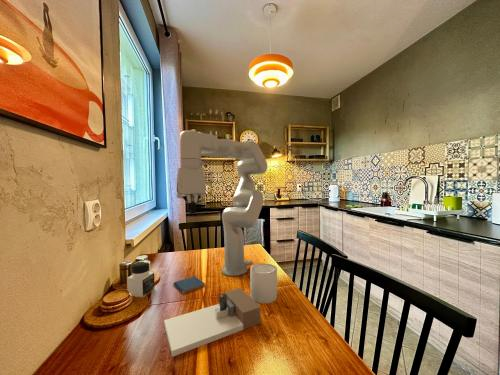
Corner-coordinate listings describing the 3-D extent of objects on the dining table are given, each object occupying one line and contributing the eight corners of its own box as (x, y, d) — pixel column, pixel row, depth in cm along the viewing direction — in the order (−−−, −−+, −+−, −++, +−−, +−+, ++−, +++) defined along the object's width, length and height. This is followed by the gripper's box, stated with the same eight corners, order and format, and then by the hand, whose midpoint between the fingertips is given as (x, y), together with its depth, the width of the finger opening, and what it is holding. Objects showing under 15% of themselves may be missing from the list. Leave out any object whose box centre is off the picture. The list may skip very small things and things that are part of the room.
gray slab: (172, 356, 54) (171, 337, 54) (164, 325, 66) (163, 308, 66) (260, 323, 67) (260, 307, 67) (240, 301, 79) (239, 288, 79)
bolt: (216, 319, 66) (216, 299, 66) (214, 315, 68) (214, 296, 68) (251, 307, 72) (251, 289, 72) (247, 304, 74) (247, 287, 74)
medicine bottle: (143, 297, 82) (142, 266, 82) (126, 296, 84) (126, 265, 83) (155, 288, 89) (154, 260, 89) (139, 287, 91) (139, 259, 90)
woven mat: (206, 287, 91) (206, 282, 91) (182, 295, 84) (181, 290, 84) (195, 279, 99) (195, 274, 99) (172, 286, 92) (172, 281, 92)
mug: (244, 288, 89) (243, 262, 89) (266, 284, 92) (266, 259, 92) (256, 305, 76) (256, 275, 76) (282, 300, 80) (281, 271, 79)
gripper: (207, 165, 88) (207, 210, 89) (168, 164, 81) (169, 213, 82) (213, 164, 82) (214, 212, 82) (172, 163, 75) (172, 216, 75)
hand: (191, 213), depth 82 cm, fingers closed
